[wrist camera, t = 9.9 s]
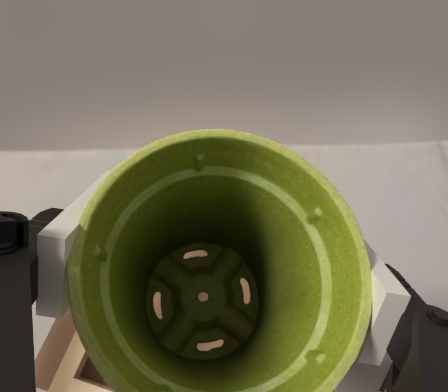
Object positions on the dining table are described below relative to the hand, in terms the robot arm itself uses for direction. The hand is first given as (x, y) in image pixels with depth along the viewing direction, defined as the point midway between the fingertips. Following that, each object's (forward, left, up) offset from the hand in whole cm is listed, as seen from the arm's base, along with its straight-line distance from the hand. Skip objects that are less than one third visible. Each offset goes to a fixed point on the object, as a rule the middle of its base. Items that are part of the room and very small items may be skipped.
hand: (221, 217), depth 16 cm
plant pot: (-1, +3, -4) cm, 5 cm away
